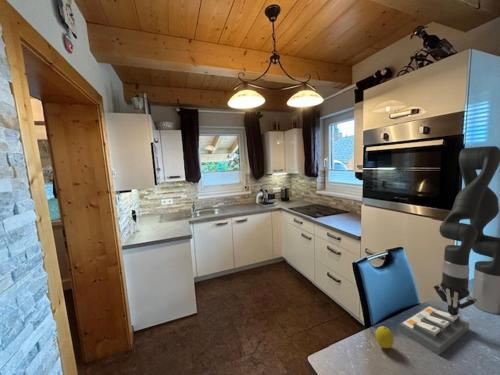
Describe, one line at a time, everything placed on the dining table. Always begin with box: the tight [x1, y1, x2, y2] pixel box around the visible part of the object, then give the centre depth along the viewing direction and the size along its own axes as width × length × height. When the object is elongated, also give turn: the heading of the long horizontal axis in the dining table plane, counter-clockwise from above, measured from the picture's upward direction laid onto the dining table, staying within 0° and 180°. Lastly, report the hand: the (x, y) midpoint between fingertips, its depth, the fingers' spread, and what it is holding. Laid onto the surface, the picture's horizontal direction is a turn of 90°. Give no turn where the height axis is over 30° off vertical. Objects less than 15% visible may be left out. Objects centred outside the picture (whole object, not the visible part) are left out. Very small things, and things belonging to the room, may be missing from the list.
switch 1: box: [417, 322, 440, 335], centre depth 82 cm, size 4×6×1 cm, turn 27°
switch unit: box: [398, 304, 470, 356], centre depth 86 cm, size 24×13×5 cm, turn 117°
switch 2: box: [435, 310, 458, 321], centre depth 89 cm, size 4×6×1 cm, turn 27°
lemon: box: [375, 325, 394, 349], centre depth 79 cm, size 6×6×8 cm
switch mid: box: [427, 316, 449, 327], centre depth 85 cm, size 4×6×1 cm, turn 27°
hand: (452, 314), depth 86 cm, fingers closed
